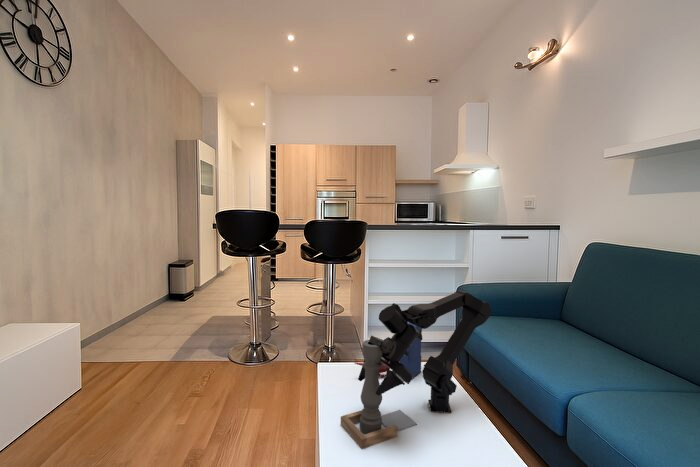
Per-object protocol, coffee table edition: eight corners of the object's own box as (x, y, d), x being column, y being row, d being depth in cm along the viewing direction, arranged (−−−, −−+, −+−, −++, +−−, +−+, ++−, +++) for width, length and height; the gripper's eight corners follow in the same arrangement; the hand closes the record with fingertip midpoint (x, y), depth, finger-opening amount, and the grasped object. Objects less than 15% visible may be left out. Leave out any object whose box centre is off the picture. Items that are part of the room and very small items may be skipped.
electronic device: (410, 369, 142) (411, 319, 141) (421, 372, 139) (423, 322, 138) (397, 377, 135) (398, 324, 134) (409, 381, 131) (411, 327, 130)
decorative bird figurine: (400, 376, 135) (400, 350, 134) (354, 380, 131) (355, 354, 130) (397, 373, 138) (397, 348, 137) (352, 377, 134) (353, 351, 133)
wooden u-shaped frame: (373, 414, 109) (374, 406, 109) (397, 436, 99) (397, 427, 98) (340, 424, 103) (340, 416, 103) (361, 448, 93) (362, 439, 93)
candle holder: (381, 424, 104) (383, 339, 103) (381, 437, 98) (383, 347, 97) (360, 422, 105) (362, 338, 103) (358, 435, 99) (360, 346, 97)
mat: (399, 410, 112) (399, 409, 112) (417, 424, 104) (417, 423, 104) (375, 418, 107) (375, 417, 107) (392, 433, 100) (392, 432, 100)
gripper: (367, 317, 110) (334, 358, 105) (405, 335, 94) (368, 386, 89) (387, 338, 114) (357, 379, 109) (427, 360, 98) (393, 409, 93)
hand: (367, 387), depth 100 cm, fingers open, 9 cm apart
